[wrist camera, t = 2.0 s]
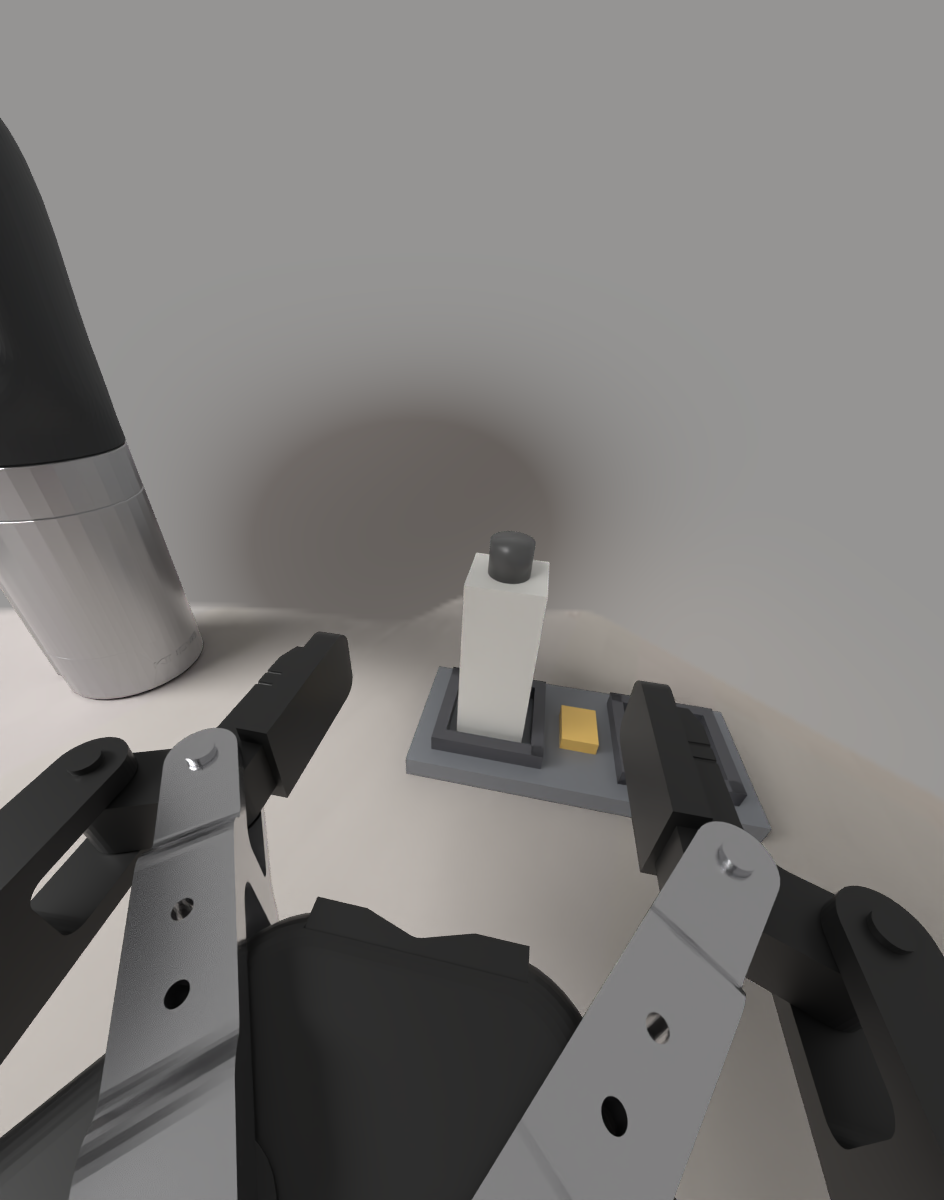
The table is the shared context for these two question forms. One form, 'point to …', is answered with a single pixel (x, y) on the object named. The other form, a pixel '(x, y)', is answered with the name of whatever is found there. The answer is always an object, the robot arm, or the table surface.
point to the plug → (501, 636)
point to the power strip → (560, 751)
